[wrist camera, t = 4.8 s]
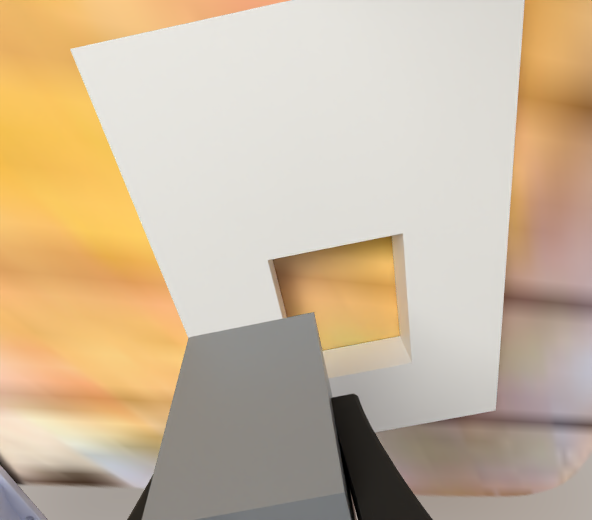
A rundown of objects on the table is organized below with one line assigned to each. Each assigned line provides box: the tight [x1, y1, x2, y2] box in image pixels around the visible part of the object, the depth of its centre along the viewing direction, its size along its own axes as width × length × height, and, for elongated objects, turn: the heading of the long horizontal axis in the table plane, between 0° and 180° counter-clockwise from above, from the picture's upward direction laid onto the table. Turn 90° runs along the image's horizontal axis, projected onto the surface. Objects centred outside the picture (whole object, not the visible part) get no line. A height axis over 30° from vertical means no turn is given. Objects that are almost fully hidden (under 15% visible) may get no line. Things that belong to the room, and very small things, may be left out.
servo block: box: [142, 312, 357, 520], centre depth 10 cm, size 5×4×5 cm
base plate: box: [70, 0, 525, 432], centre depth 18 cm, size 20×14×2 cm
